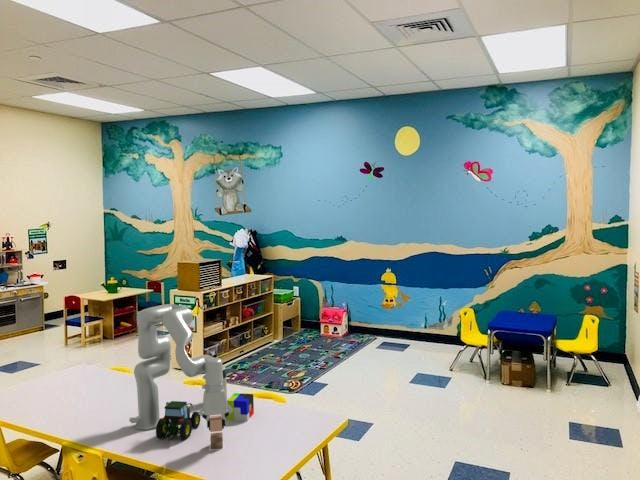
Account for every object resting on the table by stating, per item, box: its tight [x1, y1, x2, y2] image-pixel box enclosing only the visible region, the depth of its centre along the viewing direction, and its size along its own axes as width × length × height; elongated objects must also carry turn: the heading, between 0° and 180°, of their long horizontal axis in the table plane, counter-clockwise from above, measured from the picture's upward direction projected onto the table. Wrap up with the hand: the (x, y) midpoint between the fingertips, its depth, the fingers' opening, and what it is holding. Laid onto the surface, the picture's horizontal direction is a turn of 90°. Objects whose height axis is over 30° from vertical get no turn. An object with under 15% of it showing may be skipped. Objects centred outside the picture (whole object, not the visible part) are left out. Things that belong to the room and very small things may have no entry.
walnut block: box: [209, 431, 224, 451], centre depth 229 cm, size 5×5×5 cm
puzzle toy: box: [227, 392, 255, 422], centre depth 262 cm, size 10×10×10 cm
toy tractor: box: [155, 400, 201, 441], centre depth 244 cm, size 14×22×15 cm, turn 170°
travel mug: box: [223, 366, 228, 397], centre depth 283 cm, size 8×8×18 cm
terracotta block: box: [209, 414, 223, 433], centre depth 228 cm, size 5×5×5 cm
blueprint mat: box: [208, 441, 226, 452], centre depth 229 cm, size 14×12×1 cm
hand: (216, 427), depth 228 cm, fingers closed on terracotta block, 5 cm apart
